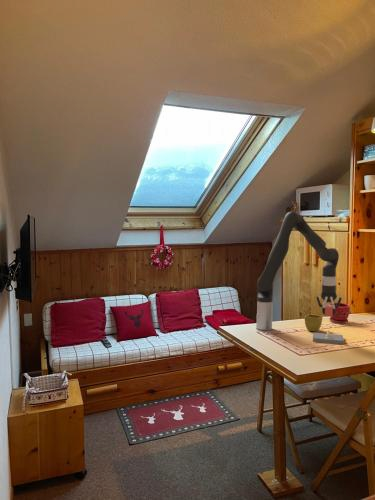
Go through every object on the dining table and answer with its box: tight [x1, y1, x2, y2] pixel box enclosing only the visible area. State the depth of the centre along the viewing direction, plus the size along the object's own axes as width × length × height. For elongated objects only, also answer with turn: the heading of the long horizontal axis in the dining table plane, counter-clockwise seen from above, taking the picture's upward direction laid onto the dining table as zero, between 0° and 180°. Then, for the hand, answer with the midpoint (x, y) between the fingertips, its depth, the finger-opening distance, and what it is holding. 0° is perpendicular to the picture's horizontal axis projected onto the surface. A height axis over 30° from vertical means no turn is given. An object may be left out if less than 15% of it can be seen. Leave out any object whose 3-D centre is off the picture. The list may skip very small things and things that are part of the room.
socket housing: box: [324, 304, 333, 318], centre depth 224 cm, size 4×8×5 cm, turn 162°
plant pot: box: [328, 302, 351, 324], centre depth 265 cm, size 13×13×12 cm
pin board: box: [312, 329, 345, 345], centre depth 224 cm, size 16×12×5 cm
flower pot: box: [304, 313, 323, 333], centre depth 245 cm, size 9×9×9 cm
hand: (328, 314), depth 224 cm, fingers closed on socket housing, 4 cm apart
